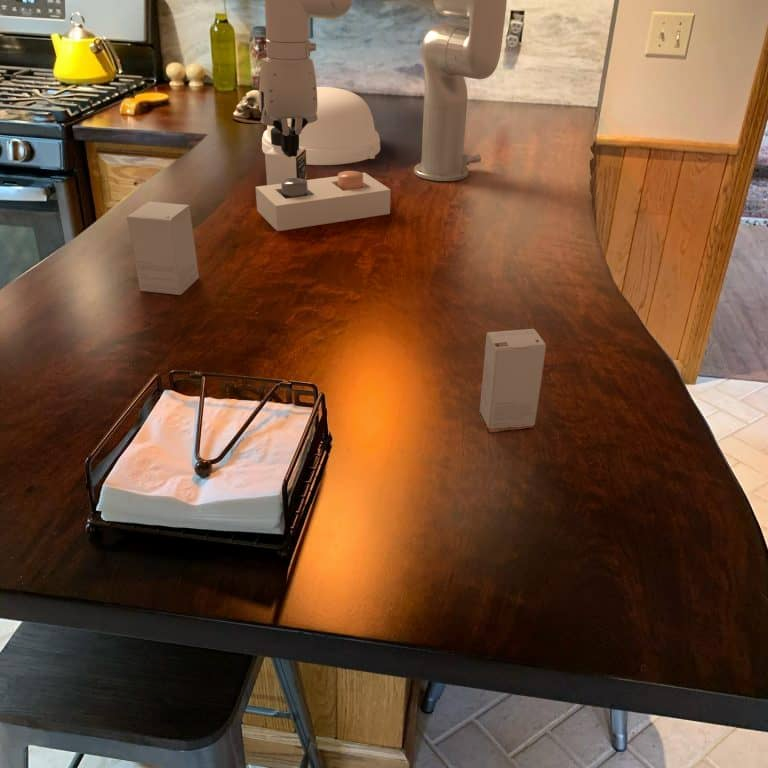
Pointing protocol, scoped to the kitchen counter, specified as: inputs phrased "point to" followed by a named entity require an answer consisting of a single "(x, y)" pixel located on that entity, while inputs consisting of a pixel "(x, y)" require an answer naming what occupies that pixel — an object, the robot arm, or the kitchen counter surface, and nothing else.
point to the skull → (249, 108)
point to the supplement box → (163, 247)
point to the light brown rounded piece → (350, 180)
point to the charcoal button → (294, 188)
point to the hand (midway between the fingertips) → (290, 154)
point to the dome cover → (336, 130)
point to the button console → (322, 203)
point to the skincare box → (512, 378)
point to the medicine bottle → (283, 162)
